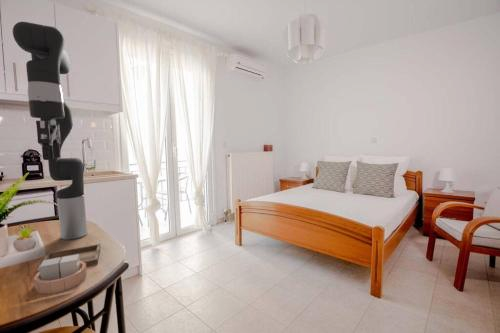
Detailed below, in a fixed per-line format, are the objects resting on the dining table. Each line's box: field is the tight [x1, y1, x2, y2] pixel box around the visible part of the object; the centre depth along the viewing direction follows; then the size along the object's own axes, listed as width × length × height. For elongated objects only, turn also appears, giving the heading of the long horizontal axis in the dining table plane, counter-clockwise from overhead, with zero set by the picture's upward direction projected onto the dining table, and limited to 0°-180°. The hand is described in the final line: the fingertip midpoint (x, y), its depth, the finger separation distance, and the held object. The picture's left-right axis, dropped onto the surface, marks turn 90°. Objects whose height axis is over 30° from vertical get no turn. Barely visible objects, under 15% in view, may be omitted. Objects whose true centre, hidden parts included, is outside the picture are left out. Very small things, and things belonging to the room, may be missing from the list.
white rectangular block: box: [60, 254, 80, 278], centre depth 72 cm, size 4×4×6 cm
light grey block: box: [39, 257, 61, 281], centre depth 70 cm, size 4×4×6 cm
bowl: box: [33, 261, 88, 294], centre depth 71 cm, size 12×12×4 cm
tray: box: [35, 243, 101, 275], centre depth 83 cm, size 14×16×2 cm
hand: (52, 158), depth 71 cm, fingers open, 8 cm apart
